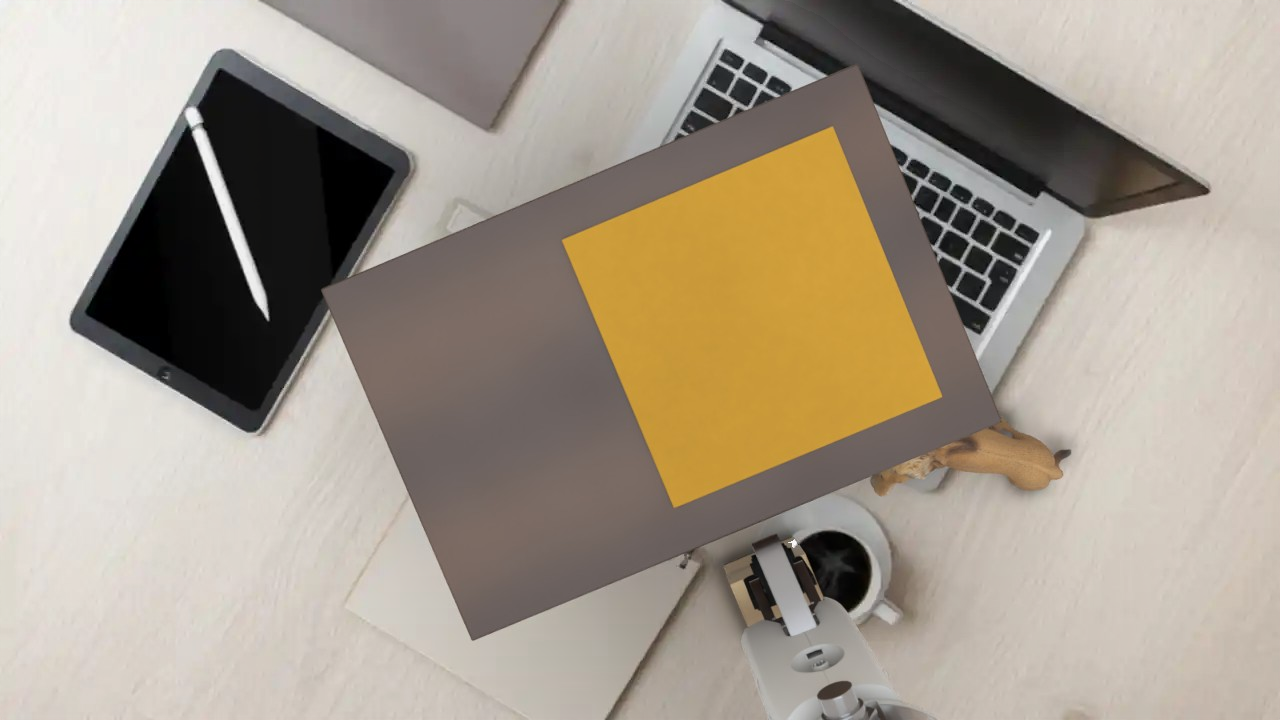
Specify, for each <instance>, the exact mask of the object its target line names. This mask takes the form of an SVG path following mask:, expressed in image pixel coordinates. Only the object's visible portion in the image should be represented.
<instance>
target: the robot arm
mask: <svg viewBox="0 0 1280 720" xmlns="http://www.w3.org/2000/svg"><path fill="white" fill-rule="evenodd" d="M781 542H782V541H781V540H780V537H779V535H778V534H777V533H774V534H771V535H769V536H767V537H764V538H762V539H760V540H757V541H755V542H753V543H751V546H752V549H753V553H755V555H752V556H751V557H752V559H751V561H752V563H750V567H751V569H752V572H753V575H750V576H748V577H746V578H745V579H744V580H743V581H744V584H745V586H746V589H747V592H748V594H749V597H750V599H751V602H752V604H753V607H754V609H755V610H756V609H758V611H761V613H762V615H763V617H764V620H761V621H759V622H757V623H755V624H753V625H751V626H749V627H747V626H746V628H744V630H743V632H742V635H741V639H740V644H741V647H742V650H743V653H744V655H745V659H746V661H747V664H748V667H749V669H750V671H751V674H752V677H753V679H754V680H753V681H754V683H755V685H756V689H757V691H758V694H759V697H760V701H761V703H762V706H763V708H764V712H765V714H766V717H767V720H941V719H940V718H939V717H938V716H936V715H935V714H933V713H932V712H930V711H928V710H926V709H924V708H922V707H920V706H918V705H914V704H912V703H909V702H906V701H903V698H902V697H901V696H900V693H899V692H898V691H897V689H896V688H895V685H894V684H893V682H892V681H891V678H890V677H889V674H888V672H887V671H886V670H885V669H884V667H883V666H882V664H881V662H880V661H879V659H878V657H877V655H876V654H875V653H874V651H873V649H872V648H871V646H870V645H869V643H868V641H867V640H866V638H865V637H864V635H863V634H862V632H861V630H860V629H859V627H858V626H857V625H856V623H855V621H854V620H853V618H852V617H851V616H850V614H849V613H848V611H847V609H846V608H845V607H844V605H843V604H841V603H840V602H839V601H837V600H835V599H834V598H831V597H829V596H823V597H822V598H823V601H821V599H820V596H819V594H818V592H817V590H816V588H815V585H817V583H818V581H817V582H816V580H817V579H816V580H815V578H816V576H815V574H814V575H813V573H814V572H813V573H812V572H811V570H810V569H809V567H808V565H807V564H806V562H805V561H804V559H803V558H802V556H797V557H795V556H794V553H793V551H792V549H791V547H790V548H787V546H786V545H785V544H784V543H781ZM814 576H815V577H814ZM804 593H805V595H806V597H807V600H808V602H809V604H810V605H809V606H808V604H807V602H806V599H805V597H804V595H803V594H804ZM775 605H777V606H778V608H779V611H780V613H781V615H782V617H780V618H777V619H776V617H775V615H774V613H773V610H772V608H771V607H773V606H775Z"/></svg>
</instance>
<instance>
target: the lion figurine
mask: <svg viewBox="0 0 1280 720" xmlns="http://www.w3.org/2000/svg"><path fill="white" fill-rule="evenodd" d="M1001 420H1002V422H1001V423H999V424H996V425H994V426H991V427H989V428H987V429H984V430H982V431H979V432H977V433H975V434H972V435H970V436H967V437H965V438H962V439H960V440H958V441H955V442H953V443H950V444H948V445H946V446H943V447H941V448H938V449H936V450H933V451H931V452H929V453H926V454H924V455H921V456H919V457H916V458H914V459H912V460H909V461H907V462H904V463H902V464H900V465H897V466H895V467H892V468H890V469H887V470H885V471H883V472H880V473H878V474H875V475H873V476H871V477H870V481H869V483H870V485H871V487H872V488H873V491H874V493H875V494H876V495H877V496H879V497H886V496H887V495H888V494H889V493H890V492H892V491H893V489H894V487H895V486H896V484H904V483H906V482H907V481H909V480H910V479H920V480H926V479H927V477H926V476H929V474H930V473H931V472H934V471H935V470H937V469H938V470H939V469H943V468H946V467H947V468H950V469H953V470H957V471H960V472H964V473H975V474H988V475H989V474H990V475H991V474H993V475H994V474H995V475H1002V476H1006V478H1007V480H1008V481H1009V483H1010V484H1011V486H1014V487H1016V488H1018V489H1020V490H1022V491H1027V492H1033V491H1040V490H1044V489H1046V488H1047V487H1048V486H1050V485H1049V484H1050V482H1051V481H1057V480H1061V479H1062V478H1063V477H1064V471H1063V470H1062V469H1061V467H1060V464H1061V462H1062V461H1063V460H1064V459H1067V458H1069V457H1070V456H1071V455H1072V449H1069V448H1068V449H1060V450H1058V451H1057V452H1055V454H1053V451H1051V450H1050V448H1048V446H1047V445H1046V444H1045V443H1044V442H1043V441H1041V440H1039V439H1038V438H1036V437H1034V436H1032V435H1030V434H1026V433H1023V432H1021V431H1018V430H1016V429H1014V428H1013V427H1012V426H1011V425H1010V423H1009V422H1008V421H1007V420H1005V419H1004V418H1003V417H1001Z"/></svg>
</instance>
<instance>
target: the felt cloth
mask: <svg viewBox="0 0 1280 720" xmlns="http://www.w3.org/2000/svg"><path fill="white" fill-rule="evenodd" d="M562 243H563V245H564V247H565V250H566V252H567V255H568V257H569V259H570V262H571V264H572V266H573V269H574V271H575V274H576V276H577V278H578V281H579V283H580V286H581V288H582V290H583V293H584V295H585V297H586V300H587V302H588V305H589V307H590V309H591V312H592V314H593V317H594V319H595V321H596V324H597V326H598V328H599V331H600V333H601V336H602V338H603V340H604V343H605V345H606V348H607V350H608V352H609V355H610V357H611V359H612V362H613V364H614V367H615V369H616V371H617V374H618V376H619V379H620V381H621V383H622V386H623V388H624V391H625V393H626V395H627V398H628V400H629V402H630V405H631V407H632V410H633V412H634V414H635V417H636V419H637V422H638V424H639V426H640V429H641V431H642V433H643V436H644V438H645V441H646V443H647V445H648V448H649V450H650V453H651V455H652V457H653V460H654V462H655V464H656V467H657V469H658V472H659V474H660V476H661V479H662V481H663V484H664V486H665V488H666V491H667V493H668V495H669V498H670V500H671V503H672V505H673V507H674V508H676V507H679V506H681V505H684V504H686V503H688V502H691V501H693V500H696V499H698V498H700V497H703V496H705V495H708V494H710V493H712V492H715V491H717V490H720V489H722V488H725V487H727V486H729V485H732V484H734V483H737V482H739V481H741V480H744V479H746V478H749V477H751V476H753V475H756V474H758V473H761V472H763V471H766V470H768V469H770V468H773V467H775V466H778V465H780V464H782V463H785V462H787V461H790V460H792V459H795V458H797V457H799V456H802V455H804V454H807V453H809V452H811V451H814V450H816V449H819V448H821V447H823V446H826V445H828V444H831V443H833V442H836V441H838V440H840V439H843V438H845V437H848V436H850V435H852V434H855V433H857V432H860V431H862V430H864V429H867V428H869V427H872V426H874V425H877V424H879V423H881V422H884V421H886V420H889V419H891V418H893V417H896V416H898V415H901V414H903V413H905V412H908V411H910V410H913V409H915V408H918V407H920V406H922V405H925V404H927V403H930V402H932V401H934V400H937V399H939V398H942V394H941V391H940V389H939V386H938V384H937V381H936V379H935V377H934V374H933V372H932V369H931V367H930V364H929V362H928V359H927V357H926V354H925V352H924V349H923V347H922V344H921V342H920V340H919V337H918V335H917V332H916V330H915V327H914V325H913V322H912V320H911V317H910V315H909V312H908V310H907V308H906V305H905V303H904V300H903V298H902V295H901V293H900V290H899V288H898V285H897V283H896V280H895V278H894V275H893V273H892V271H891V268H890V266H889V263H888V261H887V258H886V256H885V253H884V251H883V248H882V246H881V243H880V241H879V238H878V236H877V234H876V231H875V229H874V226H873V224H872V221H871V219H870V216H869V214H868V211H867V209H866V206H865V204H864V202H863V199H862V197H861V194H860V192H859V189H858V187H857V184H856V182H855V179H854V177H853V174H852V172H851V169H850V167H849V165H848V162H847V160H846V157H845V155H844V152H843V150H842V147H841V145H840V142H839V140H838V137H837V135H836V132H835V130H834V128H833V126H831V127H829V128H827V129H824V130H822V131H820V132H817V133H815V134H812V135H810V136H808V137H805V138H803V139H800V140H798V141H796V142H793V143H791V144H789V145H786V146H784V147H781V148H779V149H777V150H774V151H772V152H769V153H767V154H765V155H762V156H760V157H758V158H755V159H753V160H750V161H748V162H746V163H743V164H741V165H738V166H736V167H734V168H731V169H729V170H727V171H724V172H722V173H719V174H717V175H715V176H712V177H710V178H707V179H705V180H703V181H700V182H698V183H696V184H693V185H691V186H688V187H686V188H684V189H681V190H679V191H677V192H674V193H672V194H669V195H667V196H665V197H662V198H660V199H657V200H655V201H653V202H650V203H648V204H646V205H643V206H641V207H638V208H636V209H634V210H631V211H629V212H626V213H624V214H622V215H619V216H617V217H615V218H612V219H610V220H607V221H605V222H603V223H600V224H598V225H595V226H593V227H591V228H588V229H586V230H584V231H581V232H579V233H576V234H574V235H572V236H569V237H567V238H564V239H562Z"/></svg>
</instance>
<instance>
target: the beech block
mask: <svg viewBox="0 0 1280 720" xmlns="http://www.w3.org/2000/svg"><path fill="white" fill-rule="evenodd" d="M794 539H796V538H795V537H794V536H792V537H788V538H787V539H784V540H782V541H780V542H781V543H784V544H785V545H786V546H787V548H790V547H791V549H792V551H793V553H794V556H795V557H797V556H802V558H803V559H804V561H805V562H806V564H807V565H808V567H809V569H810V570H811V572H812V573H813V575H814V577H815V580H816V582H817V585H815V588H816V590H817V592H818V594H819V596H820V599H821V601H823V598H822V597H824V594H823V592H822V589H821V588H820V586H819V583H818V581H817V577H816V575H815V573H814V571H813V568H812V566H811V563H810V561H809V559H808V557H807V554H806V552H805V551H804V549H803V548H802V546H801V545H800V544H799V545H798V546H797V547H795V548H793V547H792V543H788V542H791V541H793V540H794ZM752 555H755V552H753V553H750V554H747V555H746V556H743V557H741V558H738V559H735V560H733V561H731V562H729V563H726V564H724V565H723V569H724V571H725V574H726V578H727V580H728V584H729V585H730V588H731V591H732V593H733V596H734V598H735V600H736V603H737V605H738V608H739V611H740V613H741V615H742V617H743V620H744V622H745V625H746V628H747V627H749V626H751V625H753V624H755V623H757V622H759V621H761V620H764V617H763V615H762V613H761V611H758V609H756V610H755V609H754V607H753V604H752V602H751V599H750V597H749V594H748V592H747V589H746V586H745V584H744V581H743V580H744V579H745V578H746V577H748V576H750V575H753V572H752V569H751V567H750V563H752V561H751V559H752V557H751V556H752ZM803 595H804V597H805V599H806V602H807V604H808V606H809V605H810V604H809V602H808V600H807V597H806V595H805V593H804V594H803ZM771 608H772V610H773V613H774V615H775V617H776V619H777V618H780V617H782V615H781V613H780V611H779V608H778V606H777V605H775V606H773V607H771Z"/></svg>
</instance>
